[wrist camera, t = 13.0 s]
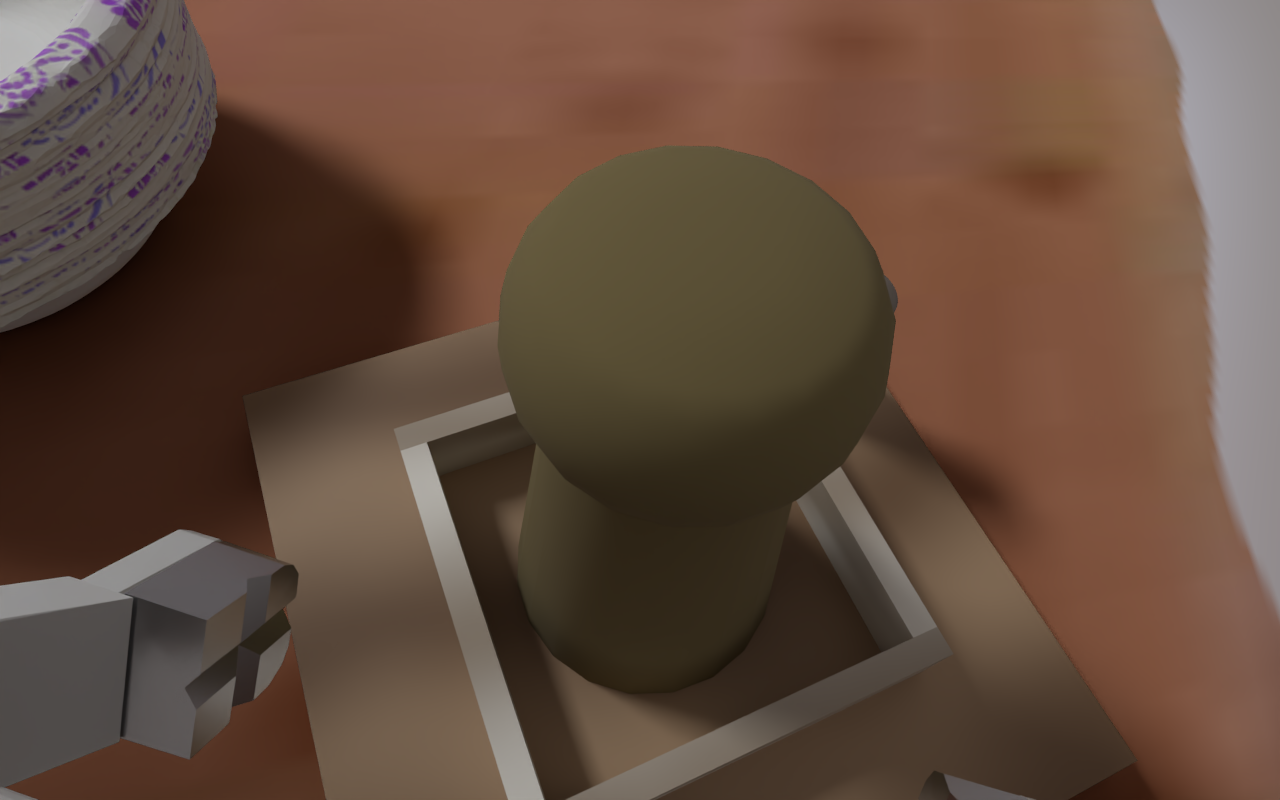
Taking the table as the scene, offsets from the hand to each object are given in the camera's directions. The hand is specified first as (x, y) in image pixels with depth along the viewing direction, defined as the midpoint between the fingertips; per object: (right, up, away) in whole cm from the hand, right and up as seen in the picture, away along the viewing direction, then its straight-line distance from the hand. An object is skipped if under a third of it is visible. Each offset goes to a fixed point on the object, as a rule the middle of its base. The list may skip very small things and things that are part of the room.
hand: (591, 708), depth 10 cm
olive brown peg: (+1, 0, +9) cm, 9 cm away
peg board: (+1, -1, +10) cm, 10 cm away
